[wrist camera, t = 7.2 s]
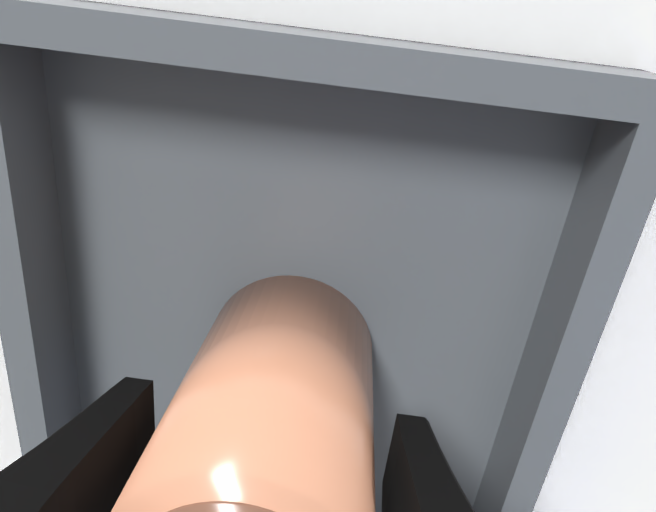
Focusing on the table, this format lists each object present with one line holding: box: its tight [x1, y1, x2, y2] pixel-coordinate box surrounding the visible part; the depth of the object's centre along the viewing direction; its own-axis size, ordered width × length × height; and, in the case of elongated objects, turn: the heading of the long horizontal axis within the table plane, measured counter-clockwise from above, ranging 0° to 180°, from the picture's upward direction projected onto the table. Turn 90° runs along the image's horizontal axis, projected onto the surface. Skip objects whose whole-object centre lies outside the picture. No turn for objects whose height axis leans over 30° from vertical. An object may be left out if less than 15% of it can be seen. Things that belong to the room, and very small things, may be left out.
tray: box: [0, 0, 656, 512], centre depth 14 cm, size 14×16×2 cm
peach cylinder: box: [111, 275, 376, 512], centre depth 12 cm, size 4×4×7 cm
